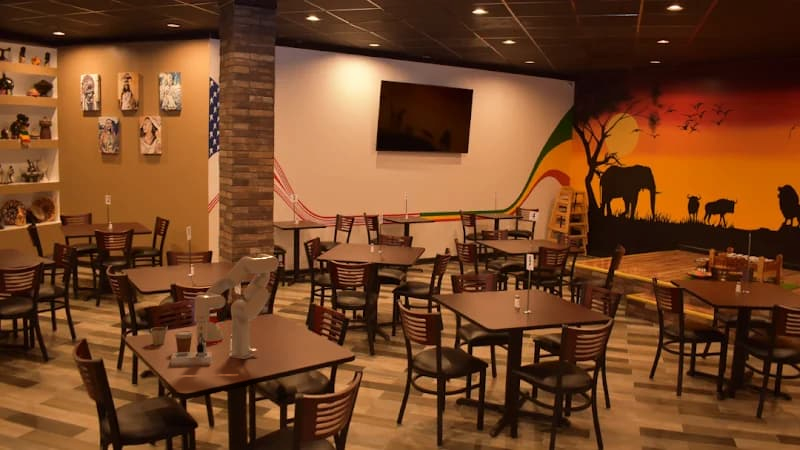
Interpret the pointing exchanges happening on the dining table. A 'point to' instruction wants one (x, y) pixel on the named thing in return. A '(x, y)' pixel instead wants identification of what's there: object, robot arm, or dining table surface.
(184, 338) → the disposable coffee cup
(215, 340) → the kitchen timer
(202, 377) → the dining table surface
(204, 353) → the plug
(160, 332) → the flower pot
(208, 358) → the panel
